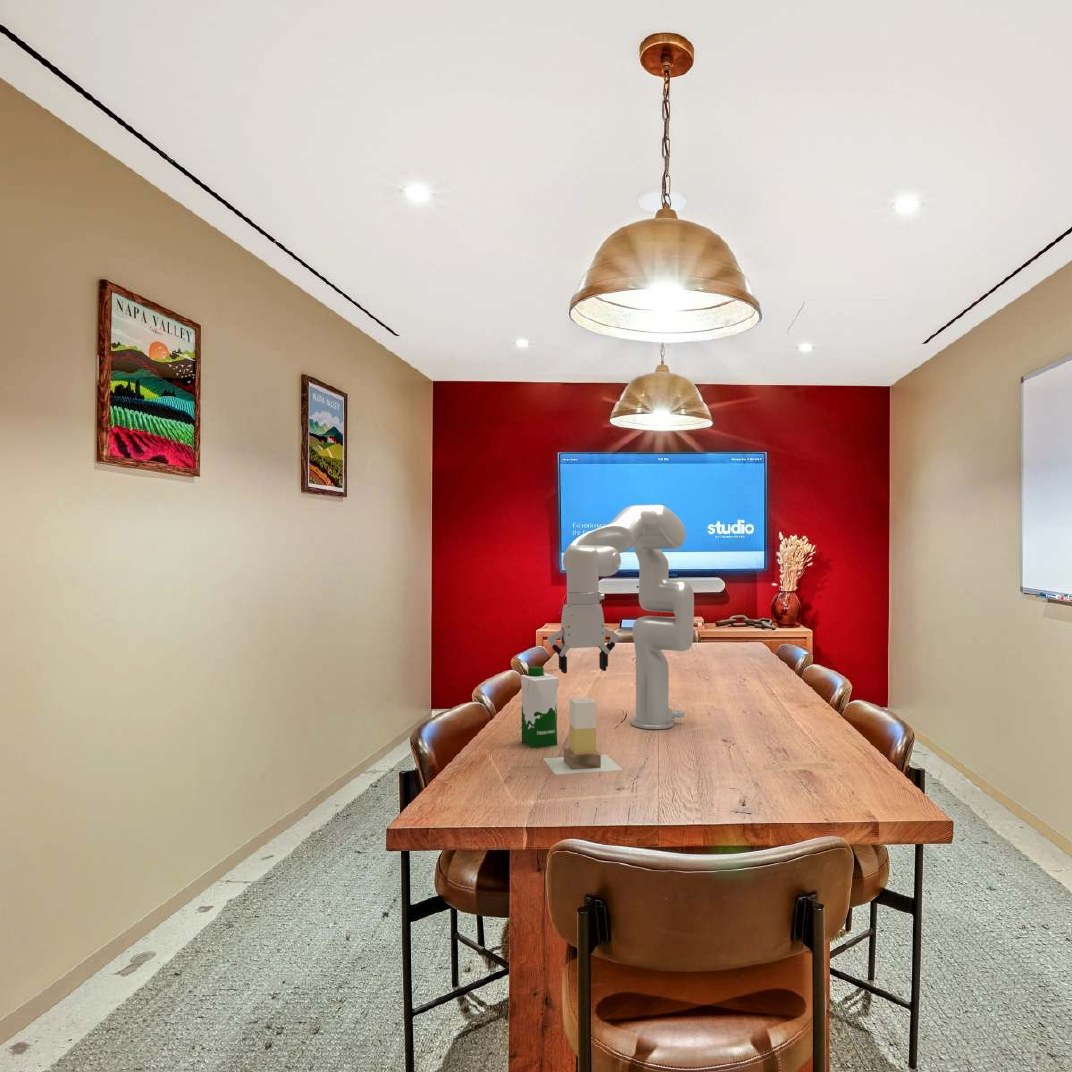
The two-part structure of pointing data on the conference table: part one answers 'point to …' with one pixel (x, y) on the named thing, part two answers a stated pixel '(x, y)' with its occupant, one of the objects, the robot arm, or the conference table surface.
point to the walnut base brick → (582, 760)
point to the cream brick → (582, 713)
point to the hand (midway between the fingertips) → (583, 671)
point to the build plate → (562, 768)
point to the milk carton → (539, 708)
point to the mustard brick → (582, 740)
